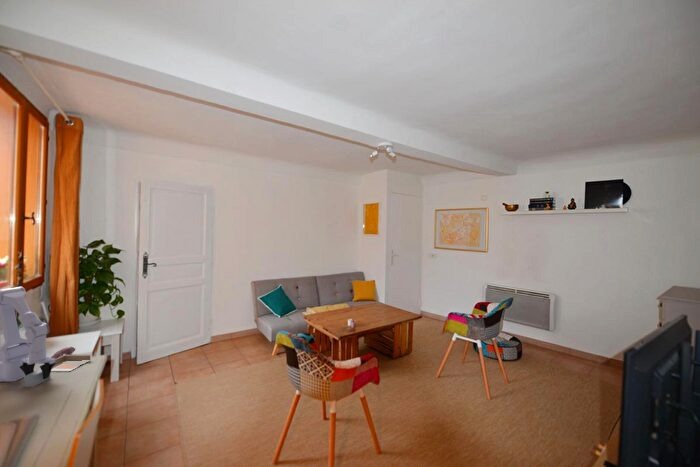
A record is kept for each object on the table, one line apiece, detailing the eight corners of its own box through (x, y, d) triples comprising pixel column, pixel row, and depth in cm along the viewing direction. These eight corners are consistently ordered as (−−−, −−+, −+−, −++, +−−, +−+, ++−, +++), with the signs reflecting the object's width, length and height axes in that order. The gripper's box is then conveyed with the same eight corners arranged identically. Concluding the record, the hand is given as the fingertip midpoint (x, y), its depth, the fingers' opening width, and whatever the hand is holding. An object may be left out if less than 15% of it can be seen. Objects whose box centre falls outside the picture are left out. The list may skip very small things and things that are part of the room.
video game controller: (54, 364, 163) (58, 354, 162) (48, 360, 163) (52, 349, 163) (74, 357, 172) (78, 346, 171) (68, 352, 173) (72, 342, 172)
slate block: (24, 386, 138) (24, 376, 137) (42, 378, 146) (42, 367, 145) (33, 386, 138) (33, 375, 138) (50, 378, 146) (50, 367, 146)
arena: (42, 371, 152) (42, 364, 151) (64, 361, 164) (64, 354, 163) (70, 371, 152) (70, 365, 152) (90, 361, 164) (90, 354, 164)
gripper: (12, 353, 137) (13, 382, 137) (44, 353, 137) (44, 382, 138) (29, 347, 144) (29, 375, 145) (59, 347, 144) (59, 375, 145)
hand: (38, 378), depth 142 cm, fingers open, 7 cm apart
